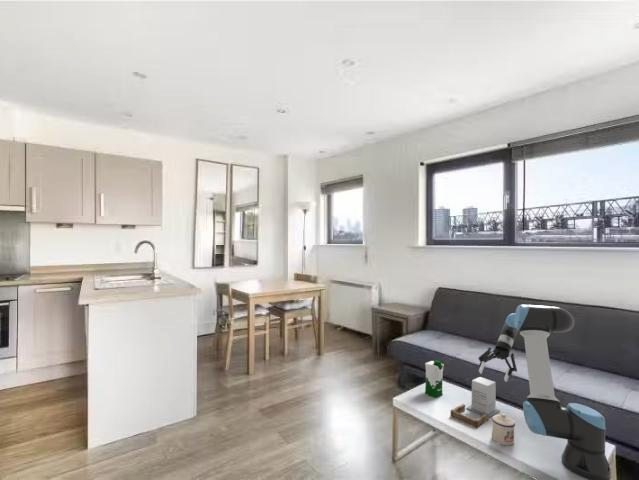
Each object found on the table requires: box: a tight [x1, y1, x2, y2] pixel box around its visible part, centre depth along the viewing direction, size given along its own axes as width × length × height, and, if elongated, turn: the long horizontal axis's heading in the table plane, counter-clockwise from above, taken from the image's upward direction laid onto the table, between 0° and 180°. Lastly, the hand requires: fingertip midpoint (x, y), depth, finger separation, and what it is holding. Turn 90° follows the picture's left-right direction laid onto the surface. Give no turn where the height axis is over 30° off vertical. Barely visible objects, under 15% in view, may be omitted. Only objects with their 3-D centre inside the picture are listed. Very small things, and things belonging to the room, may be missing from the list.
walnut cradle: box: [450, 403, 489, 429], centre depth 167 cm, size 12×13×3 cm
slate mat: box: [465, 404, 501, 419], centre depth 176 cm, size 12×12×1 cm
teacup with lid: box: [491, 412, 516, 447], centre depth 149 cm, size 12×9×12 cm
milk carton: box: [424, 359, 445, 399], centre depth 194 cm, size 9×9×20 cm
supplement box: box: [471, 376, 497, 414], centre depth 176 cm, size 9×9×15 cm
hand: (492, 376), depth 183 cm, fingers open, 13 cm apart
